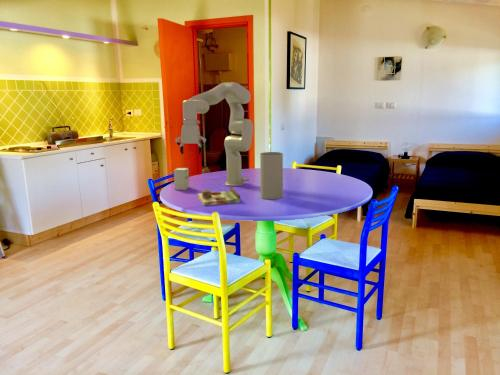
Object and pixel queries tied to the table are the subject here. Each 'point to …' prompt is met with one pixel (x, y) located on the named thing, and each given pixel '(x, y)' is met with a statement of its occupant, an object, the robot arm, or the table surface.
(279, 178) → the cylinder vase
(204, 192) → the walnut block
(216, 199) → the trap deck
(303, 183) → the table surface
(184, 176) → the supplement box
